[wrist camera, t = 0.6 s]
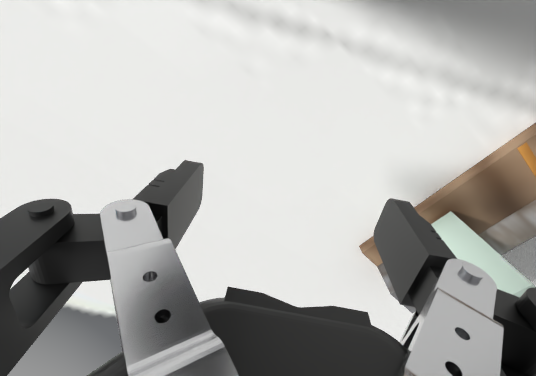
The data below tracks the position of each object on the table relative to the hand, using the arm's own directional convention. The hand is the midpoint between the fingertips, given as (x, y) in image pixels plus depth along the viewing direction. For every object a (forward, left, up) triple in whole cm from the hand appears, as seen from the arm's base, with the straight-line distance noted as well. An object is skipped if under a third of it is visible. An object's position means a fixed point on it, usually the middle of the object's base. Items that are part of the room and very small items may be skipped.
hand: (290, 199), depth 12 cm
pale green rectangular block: (+17, +23, -19) cm, 34 cm away
